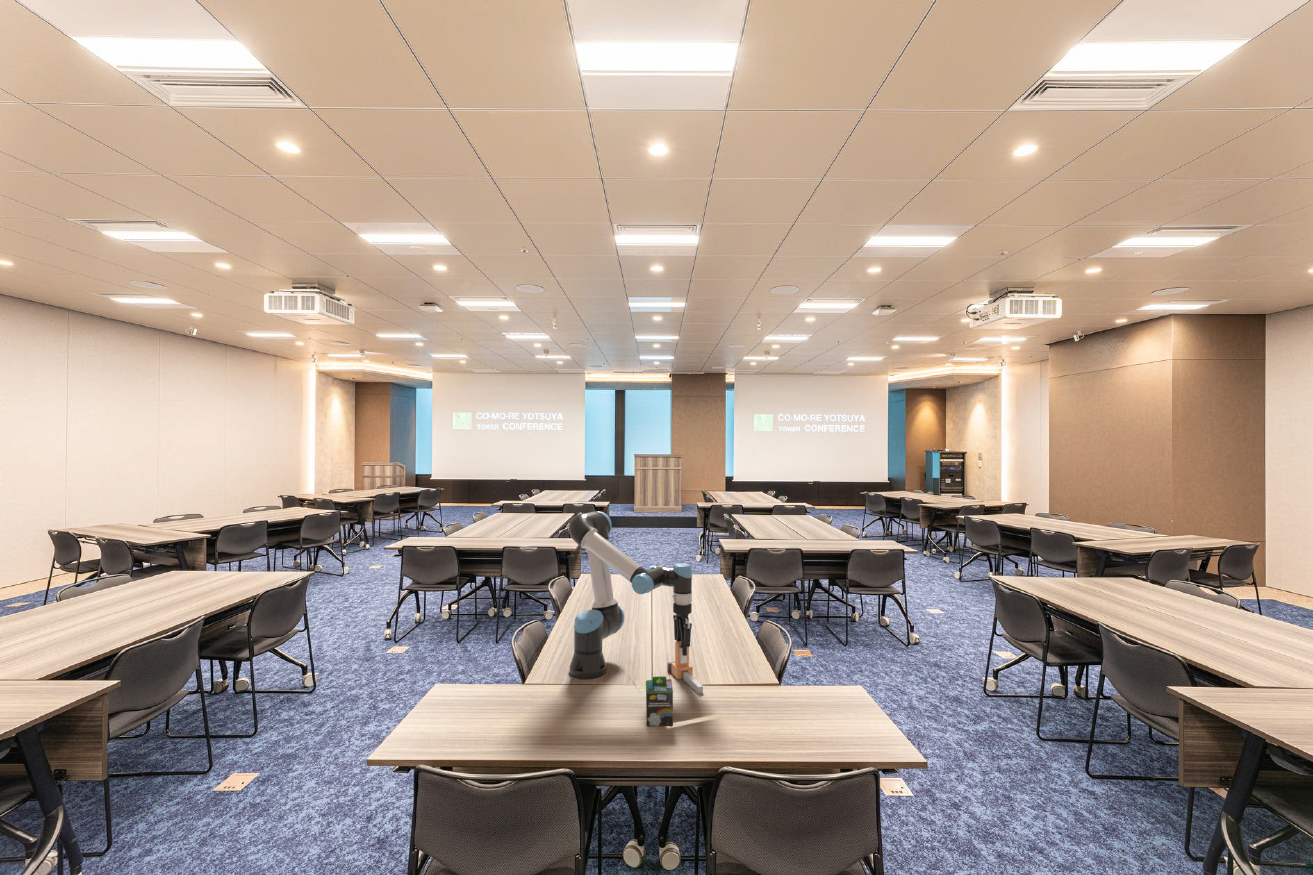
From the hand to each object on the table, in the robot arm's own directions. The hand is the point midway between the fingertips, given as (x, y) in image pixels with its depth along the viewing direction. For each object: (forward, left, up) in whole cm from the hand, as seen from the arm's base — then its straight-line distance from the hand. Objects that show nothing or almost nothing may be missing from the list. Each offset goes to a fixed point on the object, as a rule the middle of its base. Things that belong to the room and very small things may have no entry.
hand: (681, 661), depth 199 cm
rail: (+6, 0, -7) cm, 9 cm away
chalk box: (+26, -21, -7) cm, 34 cm away
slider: (0, 0, -5) cm, 5 cm away
